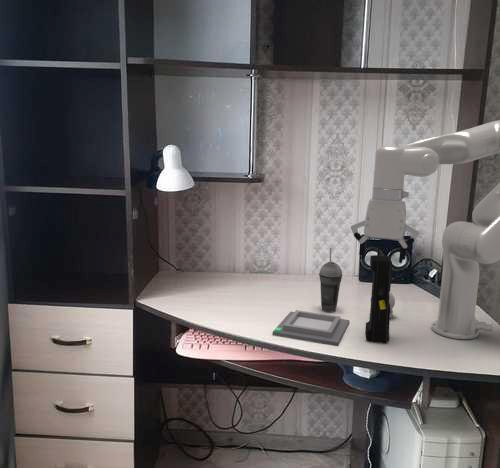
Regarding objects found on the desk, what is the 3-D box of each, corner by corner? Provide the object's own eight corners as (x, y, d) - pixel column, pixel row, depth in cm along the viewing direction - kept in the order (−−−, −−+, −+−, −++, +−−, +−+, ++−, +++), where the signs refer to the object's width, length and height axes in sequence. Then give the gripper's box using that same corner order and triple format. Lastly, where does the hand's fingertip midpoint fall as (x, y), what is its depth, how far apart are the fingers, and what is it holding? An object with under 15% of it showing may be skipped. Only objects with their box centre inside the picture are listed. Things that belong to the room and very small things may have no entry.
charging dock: (349, 323, 146) (349, 315, 145) (337, 346, 129) (338, 337, 129) (290, 314, 152) (290, 306, 151) (272, 335, 135) (272, 326, 135)
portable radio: (389, 346, 130) (397, 253, 125) (366, 343, 131) (372, 252, 126) (387, 334, 138) (394, 247, 133) (365, 332, 139) (371, 245, 134)
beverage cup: (322, 314, 152) (326, 251, 149) (313, 307, 159) (316, 246, 156) (344, 313, 154) (348, 250, 151) (334, 305, 161) (337, 245, 157)
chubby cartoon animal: (363, 322, 147) (365, 295, 145) (372, 310, 157) (374, 285, 156) (388, 327, 144) (390, 299, 142) (395, 314, 154) (397, 288, 153)
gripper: (423, 196, 128) (416, 260, 131) (355, 191, 133) (351, 253, 137) (422, 199, 121) (415, 267, 124) (351, 194, 126) (346, 259, 130)
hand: (381, 259), depth 130 cm, fingers open, 9 cm apart
